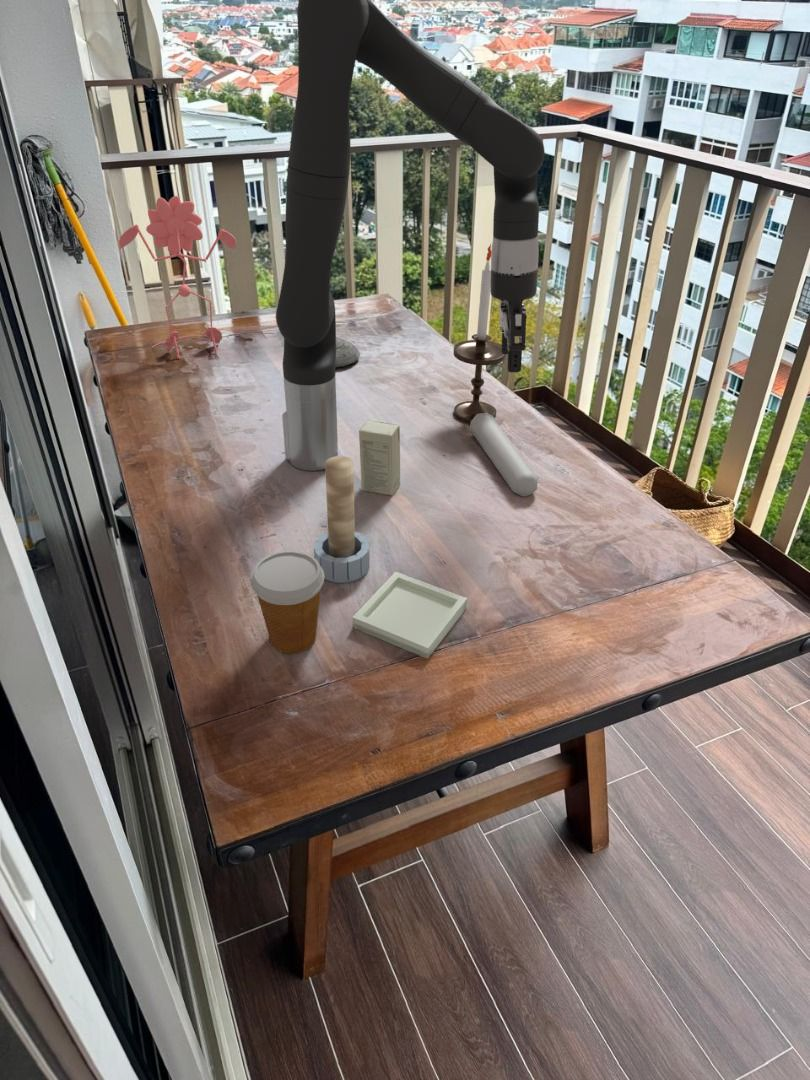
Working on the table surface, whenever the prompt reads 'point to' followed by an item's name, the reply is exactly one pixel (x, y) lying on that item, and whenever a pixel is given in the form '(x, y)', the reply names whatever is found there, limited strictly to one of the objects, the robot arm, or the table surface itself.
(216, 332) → the figurine
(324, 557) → the holder
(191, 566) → the table surface
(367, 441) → the skincare box
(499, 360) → the candlestick
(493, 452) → the tube
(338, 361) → the flying saucer
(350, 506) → the dowel
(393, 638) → the tray
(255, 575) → the disposable coffee cup
